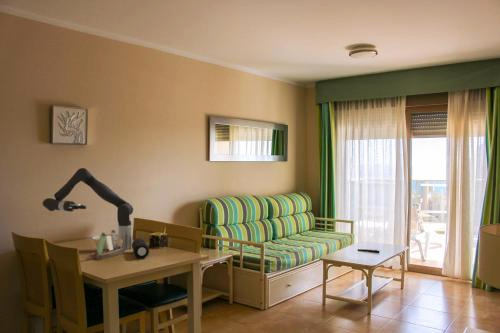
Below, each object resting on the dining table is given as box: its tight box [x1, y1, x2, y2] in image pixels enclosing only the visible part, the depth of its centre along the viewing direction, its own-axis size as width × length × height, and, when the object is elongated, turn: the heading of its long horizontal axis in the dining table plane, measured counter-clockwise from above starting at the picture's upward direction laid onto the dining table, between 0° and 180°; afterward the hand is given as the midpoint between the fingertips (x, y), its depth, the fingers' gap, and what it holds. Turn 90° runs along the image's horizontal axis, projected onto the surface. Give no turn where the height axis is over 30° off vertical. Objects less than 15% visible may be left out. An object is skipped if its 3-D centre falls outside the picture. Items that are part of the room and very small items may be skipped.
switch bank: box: [90, 246, 125, 261], centre depth 290 cm, size 9×23×5 cm, turn 157°
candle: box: [148, 232, 168, 248], centre depth 325 cm, size 10×10×10 cm
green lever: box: [96, 232, 107, 254], centre depth 281 cm, size 3×4×15 cm
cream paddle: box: [105, 234, 114, 251], centre depth 293 cm, size 1×4×10 cm, turn 157°
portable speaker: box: [131, 237, 150, 259], centre depth 294 cm, size 26×10×10 cm, turn 20°
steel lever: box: [110, 229, 118, 249], centre depth 299 cm, size 2×3×13 cm
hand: (85, 207), depth 297 cm, fingers closed
